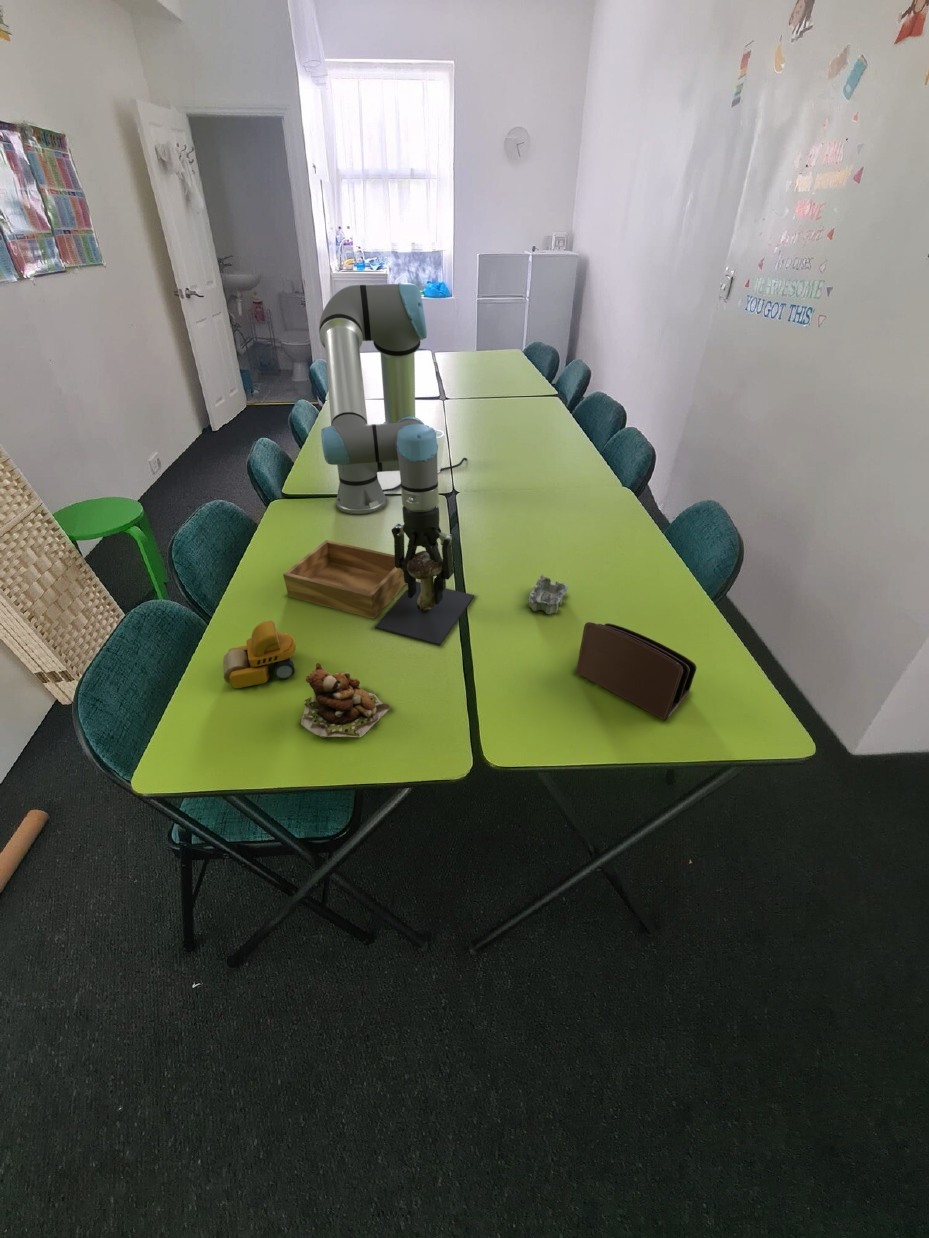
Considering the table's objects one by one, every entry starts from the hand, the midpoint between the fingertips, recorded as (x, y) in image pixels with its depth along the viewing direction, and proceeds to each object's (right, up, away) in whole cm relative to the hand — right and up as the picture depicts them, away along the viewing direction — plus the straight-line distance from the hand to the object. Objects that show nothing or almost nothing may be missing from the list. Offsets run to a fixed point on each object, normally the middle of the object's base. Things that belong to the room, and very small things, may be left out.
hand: (425, 597), depth 128 cm
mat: (0, -3, +3) cm, 4 cm away
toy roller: (-32, -16, -13) cm, 38 cm away
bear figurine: (-13, -23, -23) cm, 35 cm away
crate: (-20, +3, +11) cm, 22 cm away
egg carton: (+29, -1, +6) cm, 30 cm away
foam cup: (-3, +48, +70) cm, 85 cm away
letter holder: (+42, -18, -17) cm, 49 cm away
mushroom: (0, -3, +2) cm, 4 cm away
